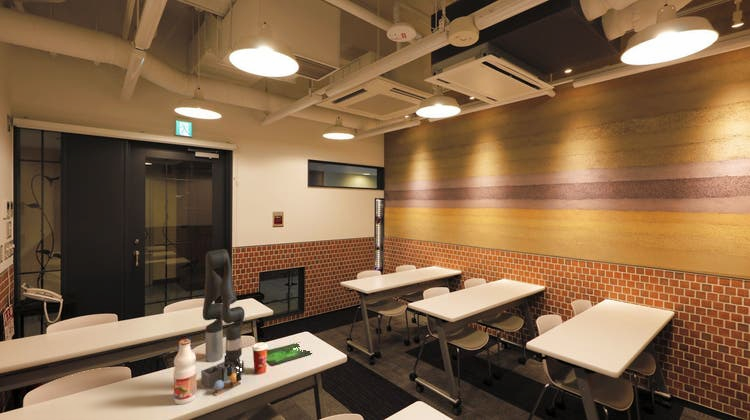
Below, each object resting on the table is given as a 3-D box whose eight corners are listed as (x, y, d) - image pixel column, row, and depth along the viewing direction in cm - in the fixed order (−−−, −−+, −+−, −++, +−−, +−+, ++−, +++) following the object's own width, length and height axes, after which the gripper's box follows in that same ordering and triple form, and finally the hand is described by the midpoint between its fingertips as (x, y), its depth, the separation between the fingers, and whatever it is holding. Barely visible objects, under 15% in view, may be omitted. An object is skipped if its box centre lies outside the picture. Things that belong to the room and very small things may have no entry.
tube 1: (201, 384, 167) (201, 370, 167) (215, 378, 173) (214, 365, 173) (208, 389, 163) (208, 375, 163) (222, 382, 169) (222, 369, 169)
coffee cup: (263, 376, 175) (262, 348, 175) (249, 374, 177) (249, 347, 177) (271, 368, 183) (270, 342, 183) (257, 367, 185) (257, 341, 185)
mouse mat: (300, 342, 219) (300, 340, 219) (314, 354, 201) (314, 352, 201) (259, 353, 203) (259, 351, 203) (270, 367, 185) (270, 365, 185)
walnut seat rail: (212, 393, 159) (212, 390, 159) (237, 382, 169) (237, 378, 169) (215, 396, 157) (215, 392, 157) (240, 384, 168) (240, 380, 168)
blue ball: (212, 389, 160) (212, 381, 159) (221, 385, 163) (221, 377, 163) (217, 393, 157) (217, 384, 157) (225, 388, 160) (225, 380, 160)
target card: (212, 387, 164) (211, 387, 164) (234, 377, 174) (234, 377, 174) (216, 390, 162) (216, 389, 162) (238, 379, 172) (238, 379, 172)
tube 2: (216, 377, 174) (216, 364, 174) (229, 372, 180) (229, 359, 180) (223, 382, 170) (223, 368, 169) (236, 376, 175) (236, 363, 175)
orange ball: (228, 382, 166) (227, 374, 166) (236, 379, 170) (235, 370, 169) (232, 385, 163) (232, 376, 163) (240, 381, 167) (240, 373, 167)
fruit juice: (199, 398, 155) (199, 340, 155) (178, 407, 148) (177, 347, 148) (192, 390, 161) (191, 335, 161) (171, 399, 154) (170, 341, 154)
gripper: (219, 345, 167) (219, 377, 167) (234, 353, 159) (234, 385, 159) (233, 341, 173) (233, 371, 173) (248, 347, 165) (248, 379, 165)
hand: (234, 378), depth 166 cm, fingers open, 8 cm apart
